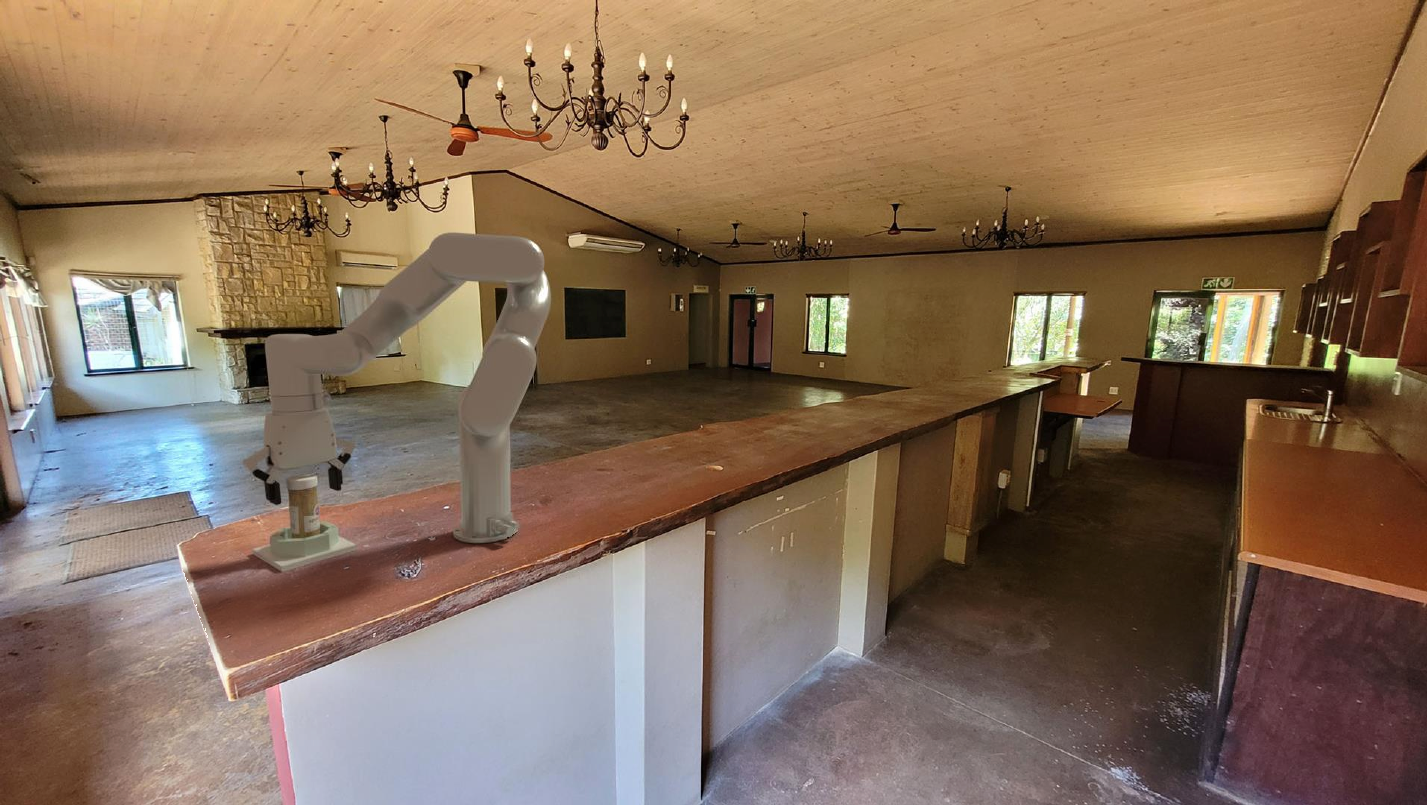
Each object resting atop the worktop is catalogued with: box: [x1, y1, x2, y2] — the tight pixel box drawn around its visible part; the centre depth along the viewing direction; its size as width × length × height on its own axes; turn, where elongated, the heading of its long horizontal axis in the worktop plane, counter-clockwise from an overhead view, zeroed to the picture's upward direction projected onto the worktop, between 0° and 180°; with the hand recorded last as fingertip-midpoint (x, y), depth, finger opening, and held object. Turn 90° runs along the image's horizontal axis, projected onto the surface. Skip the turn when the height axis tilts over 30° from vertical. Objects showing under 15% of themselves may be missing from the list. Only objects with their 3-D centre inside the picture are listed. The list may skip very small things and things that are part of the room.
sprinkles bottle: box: [285, 473, 320, 539], centre depth 103 cm, size 5×5×13 cm
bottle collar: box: [252, 521, 358, 573], centre depth 104 cm, size 12×12×4 cm
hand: (306, 496), depth 103 cm, fingers open, 9 cm apart
